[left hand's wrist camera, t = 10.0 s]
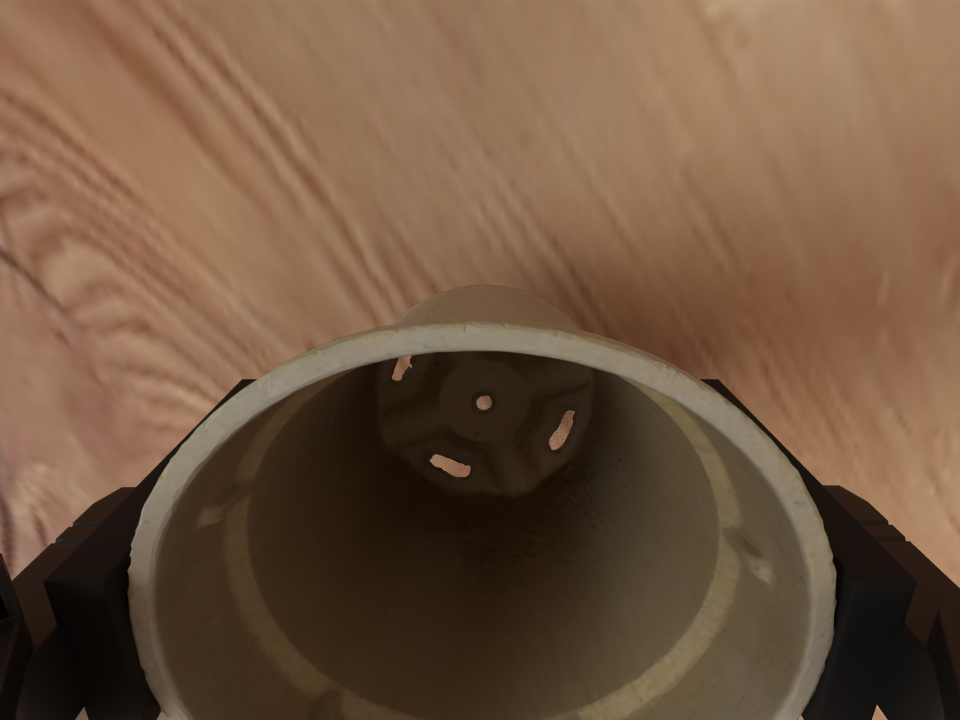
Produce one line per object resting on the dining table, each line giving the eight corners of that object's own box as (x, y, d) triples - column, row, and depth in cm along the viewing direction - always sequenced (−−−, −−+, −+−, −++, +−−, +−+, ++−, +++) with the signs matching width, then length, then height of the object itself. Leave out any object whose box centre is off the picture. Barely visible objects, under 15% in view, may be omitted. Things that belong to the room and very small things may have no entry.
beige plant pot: (324, 537, 18) (191, 875, 10) (287, 218, 14) (33, 324, 6) (636, 537, 18) (768, 877, 10) (673, 218, 14) (924, 324, 6)
